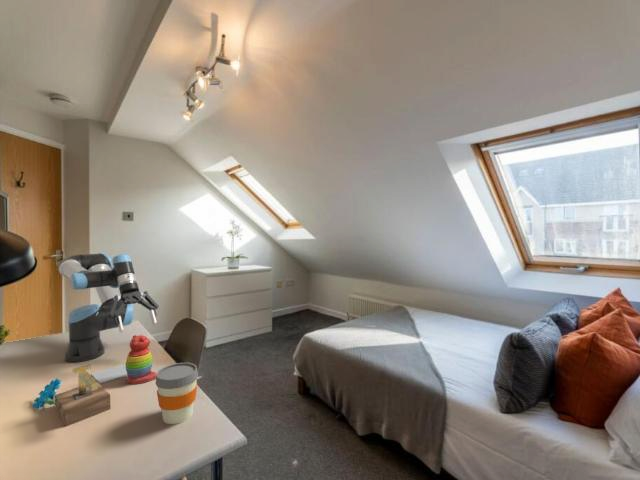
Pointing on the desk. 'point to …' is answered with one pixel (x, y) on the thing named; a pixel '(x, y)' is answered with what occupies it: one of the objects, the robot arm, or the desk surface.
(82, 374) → the gold piece
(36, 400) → the gear
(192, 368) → the reusable coffee cup
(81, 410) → the lock block
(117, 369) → the mat
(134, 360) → the stacking bear
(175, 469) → the desk surface
